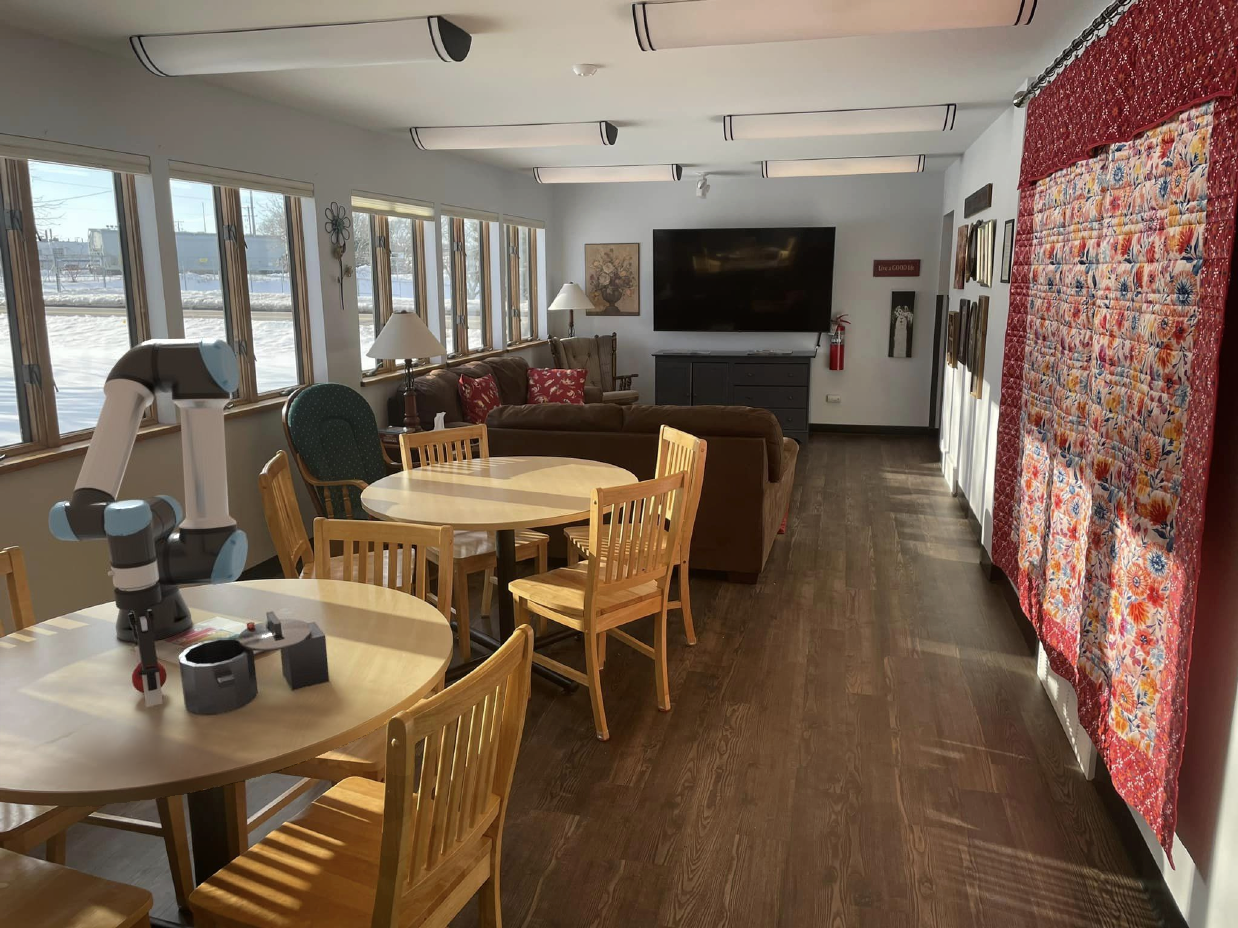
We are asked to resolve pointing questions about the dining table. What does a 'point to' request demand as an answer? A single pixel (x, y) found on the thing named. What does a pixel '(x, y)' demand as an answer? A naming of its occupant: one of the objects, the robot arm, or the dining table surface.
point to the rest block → (306, 661)
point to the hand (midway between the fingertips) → (150, 690)
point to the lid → (274, 634)
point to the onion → (138, 679)
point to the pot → (217, 676)
